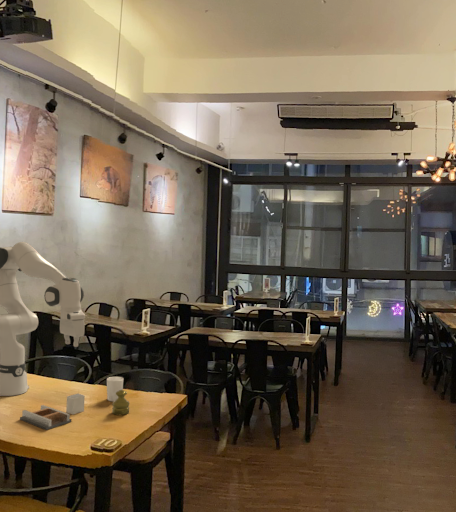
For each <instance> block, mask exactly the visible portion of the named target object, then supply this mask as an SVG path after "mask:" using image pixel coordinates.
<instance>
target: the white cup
mask: <svg viewBox="0 0 456 512" xmlns="http://www.w3.org/2000/svg"><path fill="white" fill-rule="evenodd" d="M119 390H124V377H123V376H110V377H107V378H106V394H107V395H106V396H107V401H109V402H114V401H116V399H118V396H117V395H116V392H117V391H119Z"/></svg>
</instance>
